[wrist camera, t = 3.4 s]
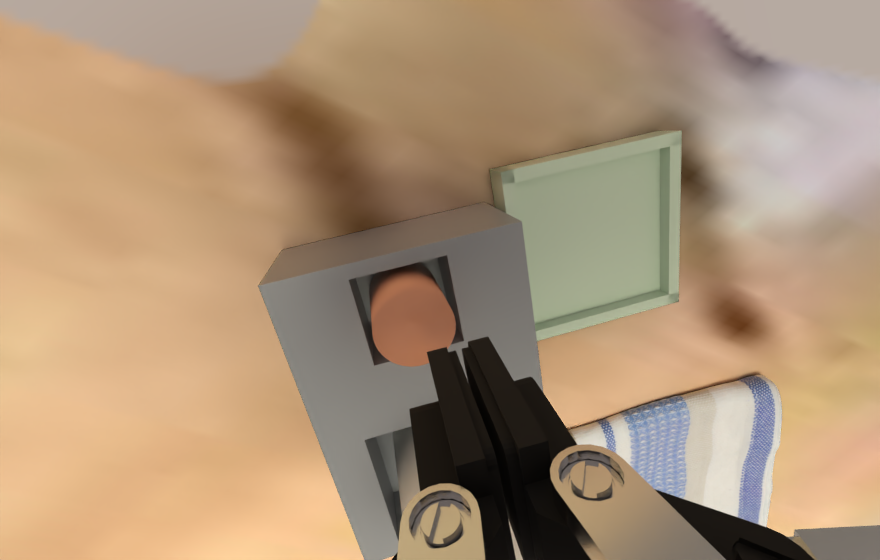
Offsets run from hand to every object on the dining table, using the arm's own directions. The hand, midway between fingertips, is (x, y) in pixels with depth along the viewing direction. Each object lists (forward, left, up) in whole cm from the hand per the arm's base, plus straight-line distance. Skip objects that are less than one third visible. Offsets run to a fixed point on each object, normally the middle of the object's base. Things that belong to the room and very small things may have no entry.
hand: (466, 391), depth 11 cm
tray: (-9, 0, -11) cm, 14 cm away
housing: (+1, +5, -11) cm, 12 cm away
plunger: (+1, 0, -8) cm, 8 cm away
